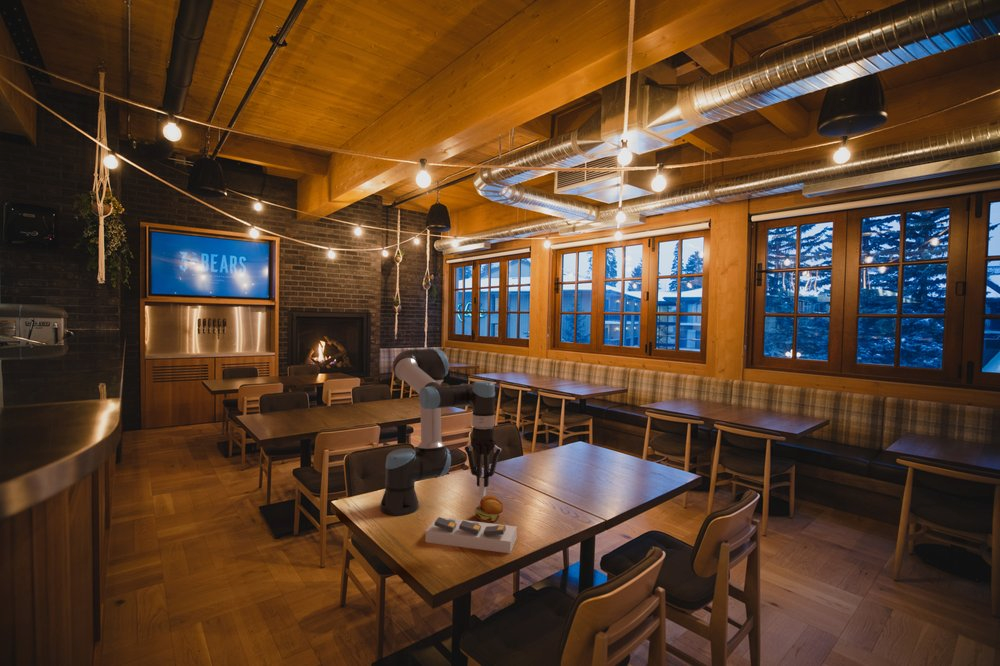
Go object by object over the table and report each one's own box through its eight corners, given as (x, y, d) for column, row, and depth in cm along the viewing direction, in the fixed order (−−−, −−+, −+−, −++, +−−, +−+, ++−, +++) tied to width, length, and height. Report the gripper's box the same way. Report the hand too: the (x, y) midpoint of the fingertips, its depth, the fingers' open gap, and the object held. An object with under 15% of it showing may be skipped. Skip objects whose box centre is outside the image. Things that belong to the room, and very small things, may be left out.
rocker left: (434, 525, 164) (435, 521, 164) (438, 520, 168) (439, 516, 168) (452, 532, 163) (453, 528, 162) (455, 527, 166) (456, 523, 166)
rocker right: (484, 535, 160) (483, 531, 160) (486, 530, 164) (486, 526, 164) (503, 534, 159) (502, 530, 159) (505, 529, 163) (505, 525, 163)
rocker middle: (458, 529, 162) (459, 524, 162) (462, 524, 166) (463, 520, 166) (477, 534, 161) (478, 530, 161) (480, 529, 165) (481, 525, 164)
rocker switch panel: (425, 542, 164) (425, 530, 164) (437, 527, 175) (437, 516, 175) (510, 553, 157) (510, 541, 157) (516, 537, 169) (516, 526, 169)
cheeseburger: (485, 510, 193) (490, 488, 191) (505, 523, 186) (510, 501, 184) (468, 517, 185) (473, 494, 183) (488, 531, 178) (494, 508, 177)
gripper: (461, 427, 159) (460, 497, 159) (499, 430, 156) (498, 501, 156) (468, 423, 166) (467, 490, 166) (504, 425, 163) (503, 494, 163)
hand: (482, 495), depth 161 cm, fingers closed
